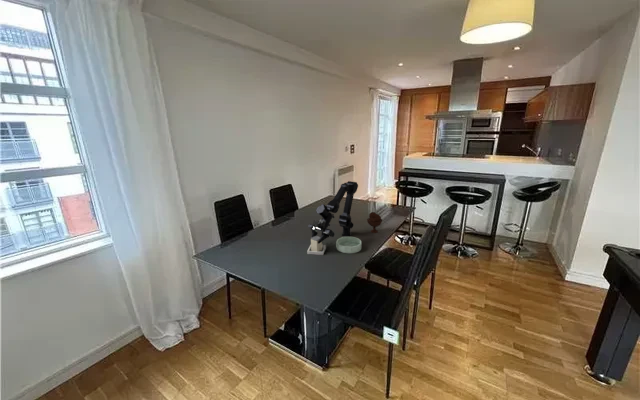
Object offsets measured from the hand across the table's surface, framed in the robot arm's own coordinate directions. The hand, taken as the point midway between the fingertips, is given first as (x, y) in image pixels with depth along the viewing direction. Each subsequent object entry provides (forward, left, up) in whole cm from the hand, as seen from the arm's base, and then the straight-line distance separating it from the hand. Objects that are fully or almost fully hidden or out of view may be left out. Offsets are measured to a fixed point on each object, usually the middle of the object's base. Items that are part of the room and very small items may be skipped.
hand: (315, 242), depth 166 cm
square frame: (-1, +1, -7) cm, 7 cm away
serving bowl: (-8, +21, -7) cm, 23 cm away
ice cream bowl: (-37, +37, -7) cm, 53 cm away
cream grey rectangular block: (-1, +1, -7) cm, 7 cm away
